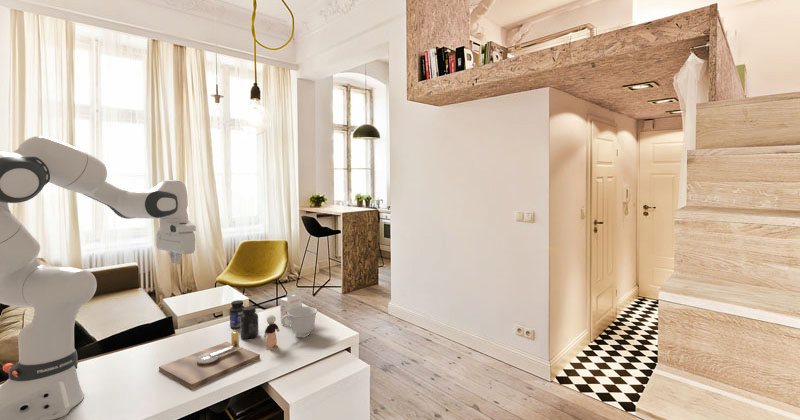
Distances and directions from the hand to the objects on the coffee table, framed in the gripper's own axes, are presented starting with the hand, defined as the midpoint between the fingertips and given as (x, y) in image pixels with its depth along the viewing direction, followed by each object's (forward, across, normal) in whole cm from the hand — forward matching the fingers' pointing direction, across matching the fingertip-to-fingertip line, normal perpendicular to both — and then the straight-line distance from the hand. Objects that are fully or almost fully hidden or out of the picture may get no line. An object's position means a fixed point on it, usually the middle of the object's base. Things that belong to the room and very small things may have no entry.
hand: (175, 264), depth 134 cm
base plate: (+33, +18, +2) cm, 38 cm away
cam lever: (+31, +17, +5) cm, 36 cm away
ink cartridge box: (+33, +10, +44) cm, 56 cm away
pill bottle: (+33, -6, +28) cm, 44 cm away
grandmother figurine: (+33, +24, +22) cm, 47 cm away
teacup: (+33, +24, +36) cm, 55 cm away
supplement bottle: (+33, +8, +24) cm, 42 cm away
